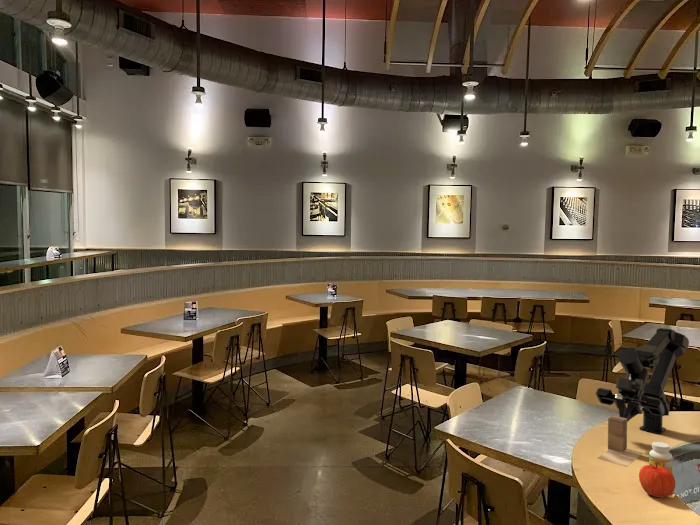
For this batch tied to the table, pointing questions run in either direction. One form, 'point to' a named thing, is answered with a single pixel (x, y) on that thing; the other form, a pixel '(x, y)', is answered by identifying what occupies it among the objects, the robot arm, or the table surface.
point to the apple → (657, 480)
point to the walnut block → (617, 434)
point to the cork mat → (621, 457)
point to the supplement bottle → (661, 456)
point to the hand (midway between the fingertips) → (621, 424)
